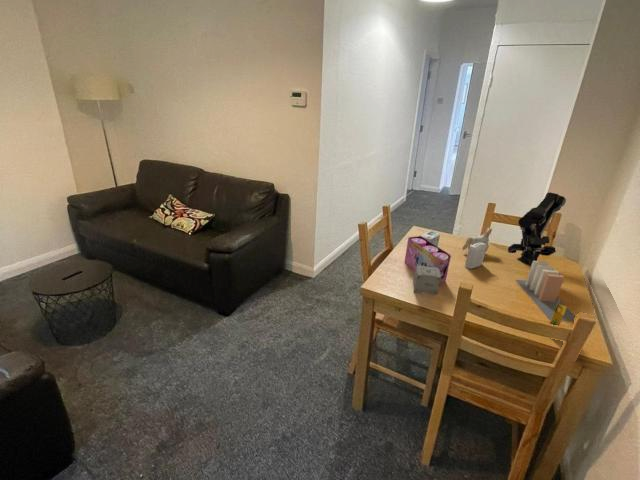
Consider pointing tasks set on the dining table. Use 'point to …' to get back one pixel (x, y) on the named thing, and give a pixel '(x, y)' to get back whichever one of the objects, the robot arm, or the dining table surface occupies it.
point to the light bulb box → (431, 237)
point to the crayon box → (558, 314)
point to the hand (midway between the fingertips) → (533, 267)
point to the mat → (546, 304)
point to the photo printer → (475, 255)
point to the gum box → (427, 255)
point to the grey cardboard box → (426, 279)
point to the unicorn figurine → (478, 239)
